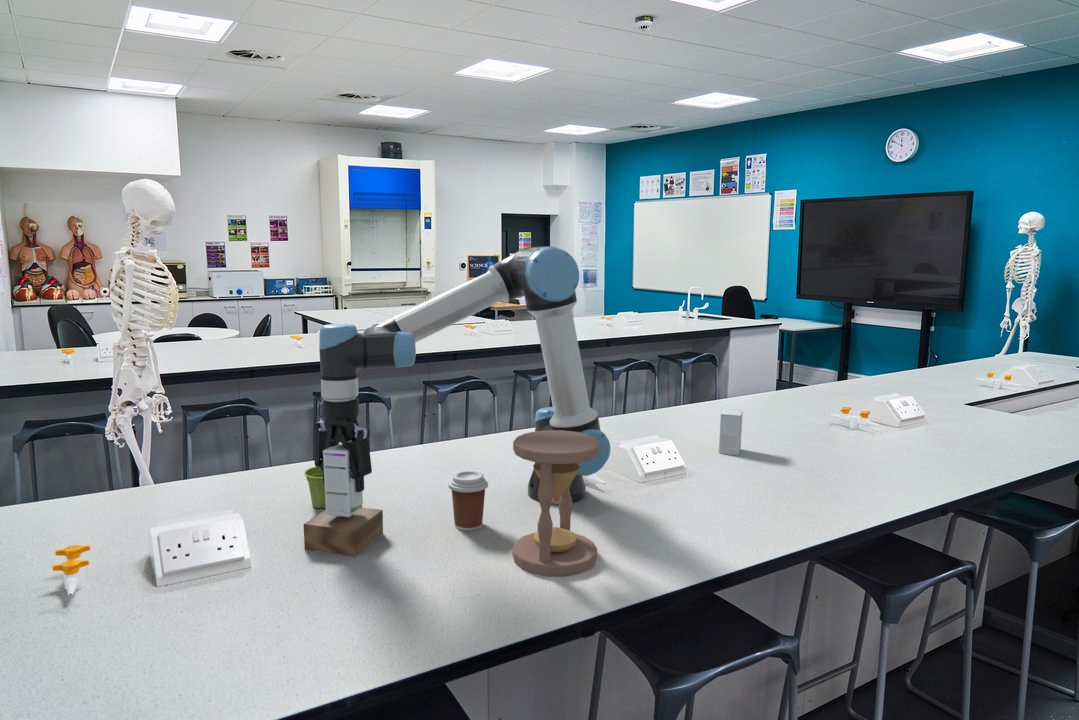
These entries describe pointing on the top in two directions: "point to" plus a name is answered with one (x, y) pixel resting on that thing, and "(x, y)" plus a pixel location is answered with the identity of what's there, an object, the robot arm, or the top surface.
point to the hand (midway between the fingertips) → (344, 502)
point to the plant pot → (316, 486)
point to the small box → (730, 431)
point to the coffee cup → (468, 499)
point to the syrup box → (338, 481)
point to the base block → (343, 532)
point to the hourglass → (556, 470)
